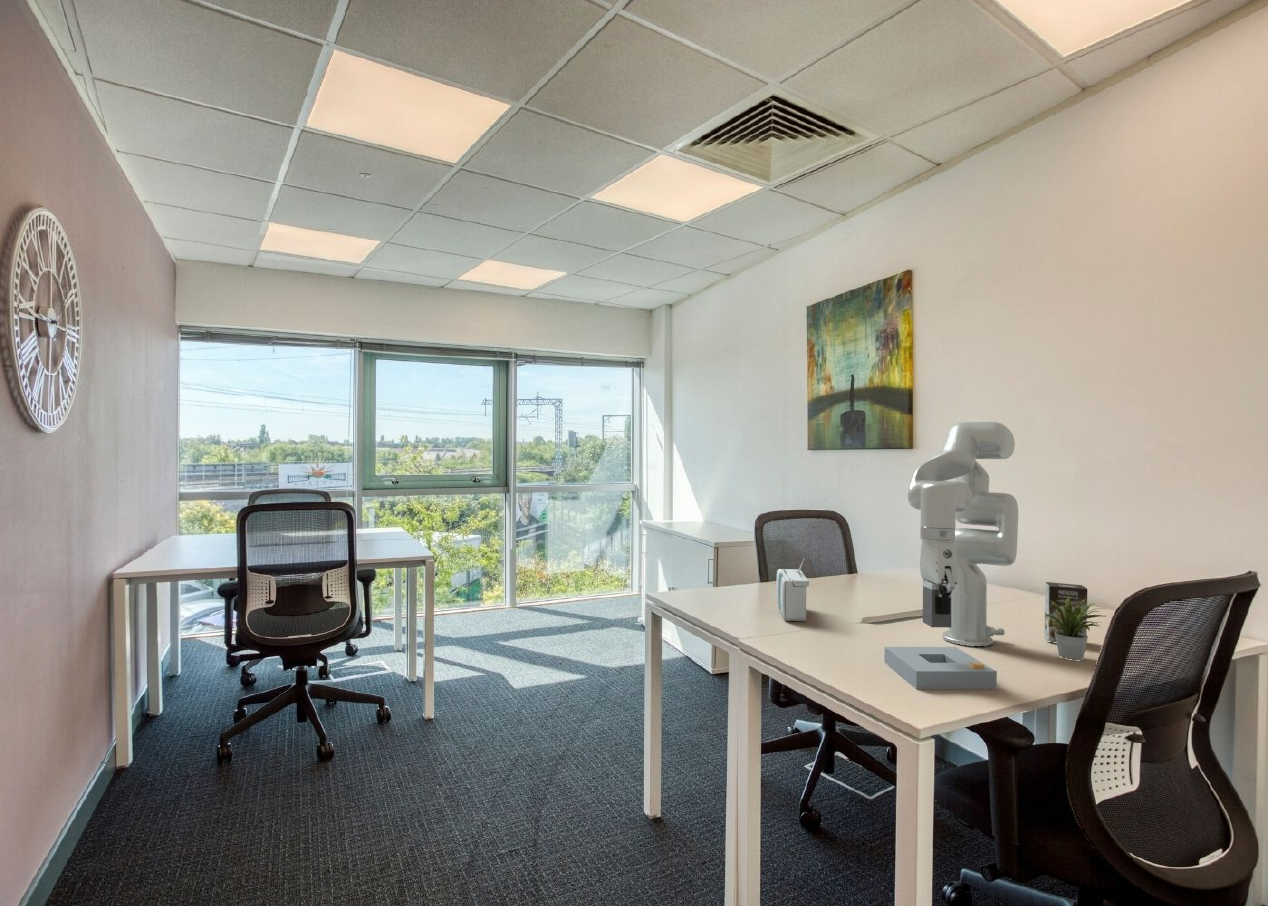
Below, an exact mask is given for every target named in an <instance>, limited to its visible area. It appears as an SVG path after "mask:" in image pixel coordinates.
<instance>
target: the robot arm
mask: <svg viewBox="0 0 1268 906" xmlns="http://www.w3.org/2000/svg"><path fill="white" fill-rule="evenodd" d="M1015 443H1016V442H1015V438H1014V433H1012V431H1011V430H1010V429H1009V428H1008V427H1007V426H1006V425H1004V424H1003V423H1001V422H997V421H971V422H969V421H968V422H966V421H965V422H958V423H956V424H954V425H952V426H950V427H949V429H948V430H947V433H946V435H945V439H944V441H943V444H942V447H941V450H940V453H939V454H938V455H936V456H933V457H932V458H930V459H928V460H926V462H923V463H922V464H921V465H919V466H918V467H917V468H916V469H915V471H914V472H913V475H912V478H911V480H910V481H909V482H910V483H909V485H908V490H907V500H908V503H909V505H910V507H912V508H913V509H915V510H919V511H920V533H919V534H920V536H919V537H920V541H921V545H920V546H921V547H920V558H919V561H920V562H919V565H920V566H919V570H920V571H919V572H920V573H919V574H920V576H921V579H922V582H923V581H931V582H933V583H935V584H936V588H937V596H938V597H936V602H935V613H936V614H950V598H951V627H948V630H947V631H944V632H942V638H943V640H945V641H946V642H949V643H951V644H952V643H953V644H956V645H959V644H960V645H961V646H965V645H966V646H965V647H974V646H979V647H978V648H981V647H980V646H984V647H989V646H988V645H990V646H992V645H993V643H994V639H993V638H992V637H994V636H1005V633H1006V632H1005V629H1004V628H1002V627H999V628H998V627H994V626H989V625H988V623H987V622H988V620H987V619H988V617H987V615H988V614H987V613H988V609H987V607H988V606H987V605H988V602H987V601H988V596H987V594H988V593H987V592H988V589H987V588H988V581H987V577H986V576H985V574H984V572H983V570H981V569H980V567H979V566H978V565H991V566H1003V567H1007V566H1008V567H1009V566H1011V565H1013V564H1014V563H1015V562H1016V558H1017V552H1018V535H1019V534H1018V533H1019V531H1018V530H1019V506H1018V503H1017V499H1016V498H1015V496H1013V495H1012V494H1010V493H1007V492H991V491H989V489H990V476H989V474H988V471H987V470H986V469H985V468H984V467H983V466H982V465H981V464H980V463H979V462H978V461H977V460H1008V459H1009V458H1011V457H1012V455H1013V454H1014V451H1015V447H1016V446H1015V445H1016V444H1015ZM949 480H950V481H949ZM951 480H953V481H951ZM956 521H957V522H958V523H960V524H963V525H971V526H984V527H995V528H997V529H998V530H995V529H982V528H981V529H980V528H969V527H968V528H967V527H960V528H956ZM942 581H944V582H946V584H941V582H942ZM941 586H946V587H943V589H942V590H941ZM991 644H992V645H991Z"/></svg>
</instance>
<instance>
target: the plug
mask: <svg viewBox="0 0 1268 906" xmlns="http://www.w3.org/2000/svg"><path fill="white" fill-rule="evenodd" d="M941 584H946V581H942V582H941ZM943 587H946V586H941V590H942V589H943ZM936 597H938V596H937V588H936V584H935V583H933V582H931V581H923V580H922V623H923V624H925V625H927V626H929V627H931V628H949V627H951V598H950V614H936V613H935V602H936Z"/></svg>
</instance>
